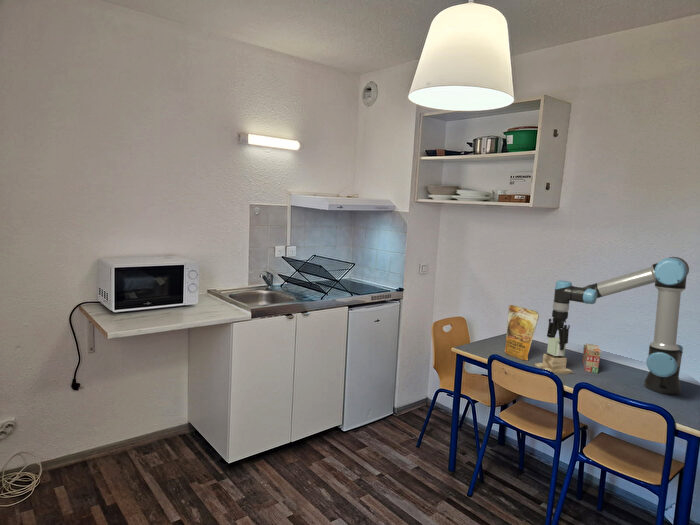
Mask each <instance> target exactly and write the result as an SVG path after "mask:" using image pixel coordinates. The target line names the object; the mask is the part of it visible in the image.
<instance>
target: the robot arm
mask: <svg viewBox="0 0 700 525" xmlns="http://www.w3.org/2000/svg"><path fill="white" fill-rule="evenodd" d="M689 272H690V267H689V264H688V262H687V261H685V260H684V259H683V258H681V257H677V256H670V257H666V258H663V259H662V260H660V261H659V262H655V263H654V264H651V266H650V267H647V268H643V269H640V270H637V271H633V272H630V273H627V274H623V275H620V276H617V277H616V276H615V277H613V278H610V279H606V280H603V281H599V282H597V283H592V284H588V285H586V286H583V287H580V286H574V285H573V283H572V282H571V281H568V280H561V279H560V280H557V281H556V283H555V287H554V295H553V296H554V298H553V304H552V309H553V310H552V312H551V314H552V315H551V317H552V318H549V319H548V328H547V335H546V337H547V338H556V335H557V332H558V338H559V340H560V343H558V351H557V356H562V355H563V350H564V344H566V345H567V344H568V343H569V332H570V328H571V326H570V324H567V319H568V317H569V309H570V308H569V307H570V302H577V303H582V304H585V305H588V304H589V305H594V304H596V302H597V299H600V298H603V297H607V296H610V295H611V296H612V295H614V294H617V293H621V292H624V291H629V290H632V289H637V288H639V287H643V286H648V285H650V284H654V287H655V288H656V289H657V302H656V312H655V313H656V314H655V320H654V322H655V324H654V333H653V334H654V335H653V341H652V342H650V343H649V345H648V346H649V347H648V356H647V358H646V359H645V360H646V367H647V369H648V371H649V372H648V373H647V375H646V378H645V379H644V382H643V385H644V387H645V388H647V389H649V390H651V391H653V392H657V393H660V394H665V395H673V396H675V395H681V393H682V386H681V383H680V371H681V364H682V358H683V353H684V351H683V350H684V347H683V346H682V345H681V344H677V336H678V328H679V319H680V318H679V316H680V305H681V304H680V303H681V298H682V297H681V294H682V292H684V291H685V290H686V286H687V276H688V275H689V274H690V273H689Z"/></svg>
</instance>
